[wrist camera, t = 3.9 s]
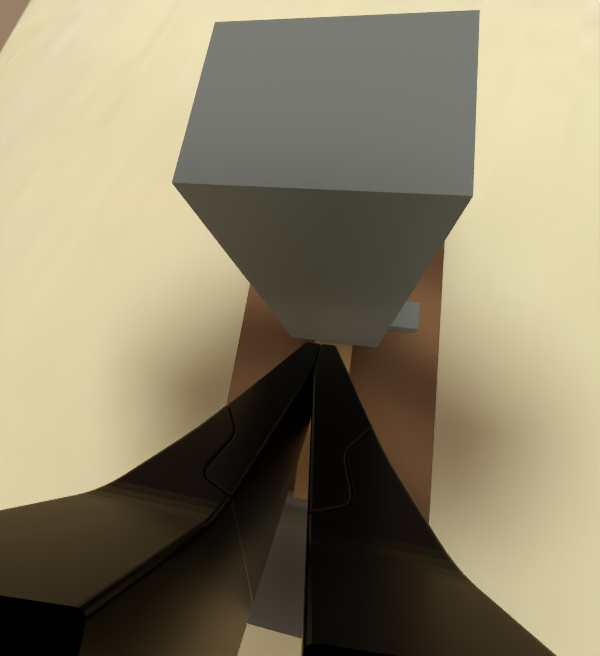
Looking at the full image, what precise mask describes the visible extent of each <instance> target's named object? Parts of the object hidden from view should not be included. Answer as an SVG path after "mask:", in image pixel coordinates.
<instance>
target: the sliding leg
mask: <svg viewBox="0 0 600 656" xmlns="http://www.w3.org/2000/svg"><path fill="white" fill-rule="evenodd" d="M479 13H480V10H471V11H449V12H427V13H406V14H384V15H362V16H340V17H318V18H296V19H274V20H252V21H230V22H215V25H214V29H213V32H212V36H211V40H210V43H209V47H208V51H207V55H206V58H205V62H204V66H203V69H202V73H201V77H200V81H199V84H198V88H197V92H196V95H195V99H194V103H193V107H192V110H191V114H190V118H189V121H188V125H187V129H186V132H185V136H184V140H183V144H182V147H181V151H180V155H179V158H178V162H177V166H176V170H175V173H174V177H173V181H172V183H173V185H174V186H175V187H176V189H177V190H178V191H179V192H180V194H181V195H182V196H183V198H184V199H185V200H186V201H187V203H188V204H189V205H190V207H191V208H192V209H193V210H194V212H195V213H196V214H197V216H198V217H199V218H200V219H201V221H202V222H203V223H204V225H205V226H206V227H207V228H208V230H209V231H210V232H211V234H212V235H213V236H214V237H215V239H216V240H217V241H218V243H219V244H220V245H221V246H222V248H223V249H224V250H225V252H226V253H227V254H228V255H229V257H230V258H231V259H232V261H233V262H234V263H235V264H236V266H237V267H238V268H239V270H240V271H241V272H242V274H243V275H244V276H245V277H246V279H247V280H248V281H249V283H250V284H251V285H252V286H253V288H254V289H255V290H256V292H257V293H258V294H259V295H260V297H261V298H262V299H263V301H264V302H265V303H266V304H267V306H268V307H269V308H270V310H271V311H272V312H273V313H274V315H275V316H276V317H277V319H278V320H279V321H280V322H281V324H282V325H283V326H284V328H285V329H286V330H287V331H288V333H289V334H290V335H291V337H292V338H300V339H309V340H317V341H325V342H333V343H341V344H349V345H357V346H366V347H374V348H377V347H378V345H379V344H380V342H381V340H382V339H383V337H384V336H385V334H386V332H387V331H388V330H392V331H400V332H409V333H415V332H416V331H417V330H418V325H419V311H420V303H416V302H406V301H407V299H408V298H409V296H410V295H411V293H412V291H413V290H414V288H415V287H416V285H417V283H418V282H419V280H420V279H421V277H422V276H423V274H424V272H425V271H426V269H427V268H428V266H429V265H430V263H431V261H432V260H433V258H434V257H435V255H436V253H437V252H438V250H439V249H440V247H441V246H442V244H443V242H444V241H445V239H446V238H447V236H448V235H449V233H450V231H451V230H452V228H453V227H454V225H455V223H456V222H457V220H458V219H459V217H460V216H461V214H462V212H463V211H464V209H465V208H466V206H467V204H468V203H469V201H470V200H471V198H472V197H473V179H474V152H475V124H476V96H477V68H478V40H479Z"/></svg>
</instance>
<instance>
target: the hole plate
mask: <svg viewBox="0 0 600 656" xmlns="http://www.w3.org/2000/svg"><path fill="white" fill-rule="evenodd" d="M443 259H444V242H443V244H442V246H441V247H440V249H439V250H438V252H437V253H436V255H435V257H434V258H433V260H432V261H431V263H430V265H429V266H428V268H427V269H426V271H425V272H424V274H423V276H422V277H421V279H420V280H419V282H418V283H417V285H416V287H415V288H414V290H413V291H412V293H411V295H410V296H409V298H408V299H407V301H406V302H416V303H420V311H419V325H418V330H417V331H416V332H415V333H409V332H400V331H392V330H388V331H387V332H386V334H385V336H384V337H383V339H382V340H381V342H380V344H379V345H378V347H377V348H374V347H366V346H357V345H349V344H341V343H333V342H325V341H317V340H309V339H300V338H292V337H291V335H290V334H289V333H288V331H287V330H286V329H285V328H284V326H283V325H282V324H281V322H280V321H279V320H278V319H277V317H276V316H275V315H274V313H273V312H272V311H271V310H270V308H269V307H268V306H267V304H266V303H265V302H264V301H263V299H262V298H261V297H260V295H259V294H258V293H257V292H256V290H255V289H254V288H253V286H252V285H251V284H250V287H249V293H248V298H247V303H246V308H245V313H244V318H243V324H242V329H241V334H240V339H239V344H238V349H237V355H236V360H235V365H234V370H233V375H232V380H231V386H230V391H229V396H228V401H227V406H228V404H229V403H230V402H231V401H232V400H234V399H235V398H236V397H237V396H239V395H240V394H241V393H242V392H244V391H245V390H246V389H247V388H249V387H250V386H251V385H253V384H254V383H255V382H256V381H258V380H259V379H260V378H261V377H263V376H264V375H265V374H266V373H268V372H269V371H270V370H271V369H273V368H274V367H275V366H277V365H278V364H279V363H280V362H282V361H283V360H284V359H285V358H287V357H288V356H289V355H290V354H292V353H293V352H294V351H295V350H297V349H298V348H299V347H301V346H302V345H303V344H304V343H306V342H312V343H319V344H320V345H322V344H328V345H335V346H336V347H337V349H338V351H339V353H340V356H341V358H342V360H343V362H344V364H345V366H346V369H347V371H348V373H349V375H350V377H351V380H352V382H353V384H354V386H355V388H356V390H357V393H358V395H359V397H360V399H361V401H362V403H363V406H364V408H365V410H366V412H367V414H368V416H369V419H370V421H371V423H372V425H373V427H374V430H375V431H376V434H377V436H378V438H379V440H380V442H381V444H382V446H383V448H384V450H385V452H386V454H387V456H388V458H389V460H390V462H391V464H392V465H393V467H394V469H395V470H396V472H397V474H398V476H399V477H400V479H401V481H402V482H403V484H404V486H405V487H406V489H407V490H408V492H409V494H410V495H411V497H412V498H413V500H414V502H415V503H416V505H417V506H418V508H419V509H420V511H421V513H422V514H423V516H424V517H425V519H426V521H427V522H428V524H429V510H430V492H431V474H432V456H433V438H434V421H435V403H436V385H437V367H438V349H439V331H440V313H441V295H442V277H443ZM310 432H311V421H310V424H309V428H308V431H307V434H306V437H305V441H304V444H303V447H302V450H301V453H300V456H299V460H298V463H297V466H296V469H295V472H294V475H293V479H292V482H291V485H290V488H289V491H288V495H287V498H286V501H285V504H284V507H283V510H282V514H281V517H280V520H279V523H278V526H277V529H276V533H275V536H274V539H273V542H272V545H271V549H270V552H269V555H268V558H267V561H266V564H265V568H264V571H263V574H262V577H261V580H260V583H259V587H258V590H257V593H256V596H255V599H254V603H253V604H252V609H251V612H250V616H249V619H248V622H247V623H248V624H252V625H256V626H259V627H263V628H266V629H270V630H273V631H277V632H280V633H284V634H288V635H291V636H295V637H298V638H302V625H303V600H304V576H305V552H306V528H307V504H308V480H309V456H310Z"/></svg>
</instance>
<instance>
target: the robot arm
mask: <svg viewBox="0 0 600 656" xmlns="http://www.w3.org/2000/svg"><path fill="white" fill-rule="evenodd" d="M310 421H311V432H310V456H309V480H308V504H307V528H306V552H305V576H304V600H303V625H302V649H301V656H556V655H555V654H554V653H553V652H552V651H550V650H549V649H548V648H547V647H546V646H545V645H543V644H542V643H541V642H540V641H539V640H538V639H536V638H535V637H534V636H533V635H532V634H531V633H530V632H528V631H527V630H526V629H525V628H524V627H523V626H521V625H520V624H519V623H518V622H517V621H516V620H514V619H513V618H512V617H511V616H510V615H509V614H507V613H506V612H505V611H504V610H503V609H502V608H501V607H499V606H498V605H497V604H496V603H495V602H494V601H492V600H491V599H490V598H489V597H488V596H487V595H485V594H484V593H483V592H482V591H481V590H480V589H479V588H477V587H476V586H475V585H474V584H473V583H472V582H471V581H470V580H469V579H468V578H467V577H466V576H465V575H464V574H463V572H462V571H461V570H460V569H459V568H458V567H457V565H456V564H455V563H454V562H453V560H452V559H451V558H450V556H449V555H448V554H447V552H446V551H445V549H444V548H443V546H442V544H441V543H440V541H439V540H438V538H437V537H436V535H435V533H434V532H433V530H432V529H431V527H430V525H429V524H428V522H427V521H426V519H425V517H424V516H423V514H422V513H421V511H420V509H419V508H418V506H417V505H416V503H415V502H414V500H413V498H412V497H411V495H410V494H409V492H408V490H407V489H406V487H405V486H404V484H403V482H402V481H401V479H400V477H399V476H398V474H397V472H396V470H395V469H394V467H393V465H392V464H391V462H390V460H389V458H388V456H387V454H386V452H385V450H384V448H383V446H382V444H381V442H380V440H379V438H378V436H377V434H376V431H375V430H374V427H373V425H372V423H371V421H370V419H369V416H368V414H367V412H366V410H365V408H364V406H363V403H362V401H361V399H360V397H359V395H358V393H357V390H356V388H355V386H354V384H353V382H352V380H351V377H350V375H349V373H348V371H347V369H346V366H345V364H344V362H343V360H342V358H341V356H340V353H339V351H338V349H337V347H336V346H335V345H328V344H322V345H320V344H319V343H312V342H306V343H304V344H303V345H302V346H301V347H299V348H298V349H297V350H295V351H294V352H293V353H292V354H290V355H289V356H288V357H287V358H285V359H284V360H283V361H282V362H280V363H279V364H278V365H277V366H275V367H274V368H273V369H271V370H270V371H269V372H268V373H266V374H265V375H264V376H263V377H261V378H260V379H259V380H258V381H256V382H255V383H254V384H253V385H251V386H250V387H249V388H247V389H246V390H245V391H244V392H242V393H241V394H240V395H239V396H237V397H236V398H235V399H234V400H232V401H231V402H230V403H229V404H228V406H227V405H226V406H225V407H223V408H222V409H221V410H220V411H218V412H217V413H216V414H214V415H213V416H212V417H210V418H209V419H208V420H206V421H205V422H204V423H202V424H201V425H200V426H198V427H197V428H195V429H194V430H192V431H191V432H190V433H188V434H187V435H185V436H184V437H182V438H181V439H179V440H178V441H176V442H175V443H173V444H171V445H170V446H168V447H167V448H165V449H164V450H162V451H161V452H159V453H157V454H156V455H154V456H153V457H151V458H150V459H148V460H147V461H145V462H143V463H142V464H140V465H139V466H137V467H136V468H134V469H133V470H131V471H130V472H128V473H126V474H125V475H123V476H121V477H120V478H118V479H116V480H115V481H113V482H111V483H109V484H107V485H105V486H102V487H100V488H97V489H95V490H92V491H89V492H86V493H82V494H78V495H73V496H68V497H63V498H59V499H54V500H49V501H44V502H39V503H34V504H29V505H24V506H19V507H15V508H10V509H5V510H0V656H237V654H238V650H239V647H240V644H241V641H242V638H243V635H244V631H245V628H246V625H247V622H248V619H249V616H250V612H251V609H252V604H253V603H254V599H255V596H256V593H257V590H258V587H259V583H260V580H261V577H262V574H263V571H264V568H265V564H266V561H267V558H268V555H269V552H270V549H271V545H272V542H273V539H274V536H275V533H276V529H277V526H278V523H279V520H280V517H281V514H282V510H283V507H284V504H285V501H286V498H287V495H288V491H289V488H290V485H291V482H292V479H293V475H294V472H295V469H296V466H297V463H298V460H299V456H300V453H301V450H302V447H303V444H304V441H305V437H306V434H307V431H308V428H309V424H310Z"/></svg>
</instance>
